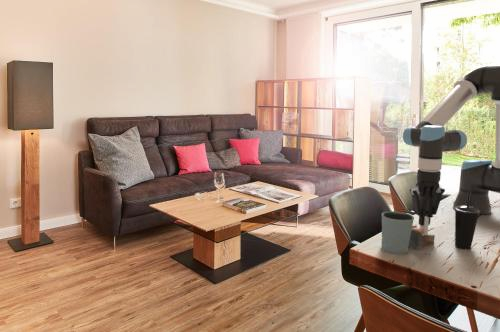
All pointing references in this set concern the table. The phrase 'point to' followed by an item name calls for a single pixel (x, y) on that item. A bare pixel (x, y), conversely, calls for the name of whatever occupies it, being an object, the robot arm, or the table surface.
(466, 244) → the drinking cup
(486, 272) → the table surface
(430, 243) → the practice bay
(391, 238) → the blue-grey embossed pot
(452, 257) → the table surface
